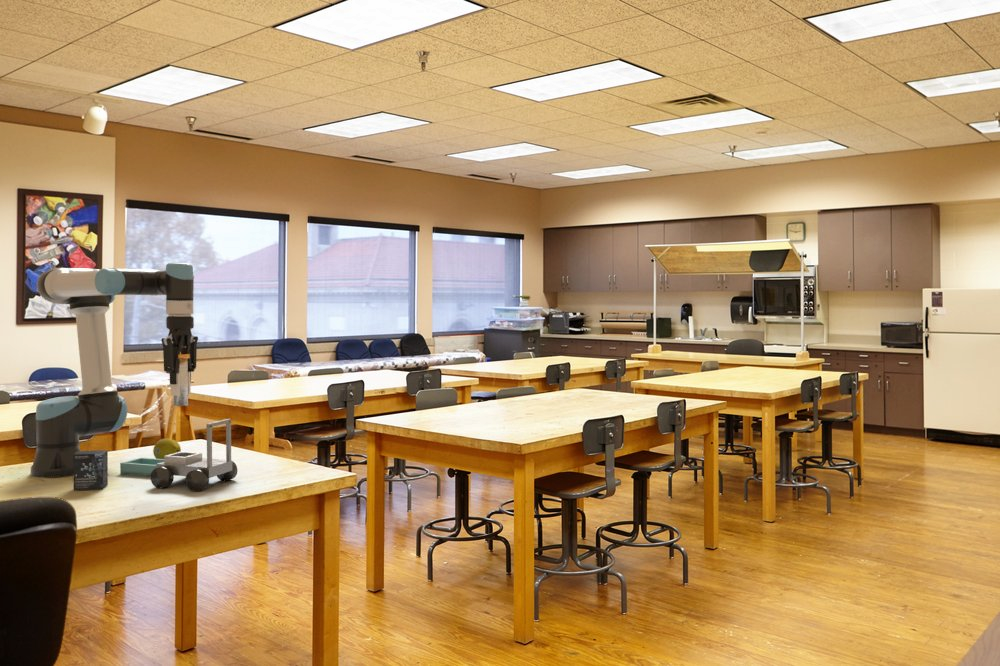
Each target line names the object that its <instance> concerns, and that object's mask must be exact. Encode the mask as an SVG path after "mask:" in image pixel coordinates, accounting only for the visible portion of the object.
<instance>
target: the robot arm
mask: <svg viewBox="0 0 1000 666" xmlns="http://www.w3.org/2000/svg"><path fill="white" fill-rule="evenodd" d="M193 267H194V266H193V265H192V263H187V262H169V263H166V265H165V269H163V270H162V269H136V268H135V269H134V268H133V269H131V268H115V267H108V268H106V267H105V268H100V269H99V268H98V269H97V268H92V267H91V268H89V267H88V268H87V267H85V268H84V267H82V268H81V267H79V268H78V267H75V268H74V267H54V268H50V269H47V270H45V271H43V272H42V273H41V274H40V275H39V277H38V278H37V281H36V289H37V292H38V293H39V295H40V297H42V298H43V299H44V300H45V301H47V302H50V303H52V304H58V305H69V312H71V313H72V314H74V316H75V321H76V322H75V323H76V331H77V332H76V333H77V334H76V335H77V343H78V353H79V364H80V373H81V383H82V384H81V385H82V386H81V387H82V388H81V390H80V392H78V394H77V396H76V395H64V396H58V397H53V398H48V399H45V400H42V401H40V402H39V403H38V404H37V405H36V408H35V410H36V411H35V429H36V431H35V432H36V451H35V454H34V459H33V463H32V465H31V466H30V476H31V477H35V478H43V479H44V478H46V479H48V478H62V477H69V476H74V468H73V467H74V466H73V455H74V454H75V453H76V452H78V451H81V448H80V437H84V436H93V435H99V434H100V435H101V434H108V433H111V432H117V431H118V430H119V429H121V428H122V427H123V426H124V424H125V422H126V420H127V416H128V405H127V401H125V398H124V397H123V396H121V395H119V393H118V389H116V387H114V386H113V385H112V384H113V383H112V374H111V373H112V372H111V371H112V370H111V363H110V353H109V352H110V351H109V341H108V331H107V323H106V322H107V321H106V313H107V312H108V311H109V310H110V304H111V303H113V302H114V301H115V299H116V297H115V296H130V295H131V296H133V295H134V296H154V297H155V296H156V297H157V296H166V298H165V314H166V315H167V316H166V320H165V322H166V329H168V331H169V332H168V335H167V336H166V337H162V338H161V343H162V350H163V351H162V353H163V356H162V357H163V372H165V373H167V374H169V385H170V396H173V395H174V396H180V373H178V366H179V359H178V355H180V353H181V354H190V358H188V395H190V394H191V382H192V373H194V372H195V370H196V368H197V356H198V355H197V353H198V352H197V349H198V348H197V347H198V346H197V345H198V341H199V337H198V336H197V335H196V336H195V335H193V333H192V329H194V327H195V325H194V323H195V322H194V321H195V320H194V319H195V317H193V315H194V291H195V290H194V289H195V288H194V287H195V286H194V284H195V283H194V281H195V280H194V279H195V276H194V268H193Z"/></svg>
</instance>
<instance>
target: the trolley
mask: <svg viewBox="0 0 1000 666" xmlns="http://www.w3.org/2000/svg"><path fill="white" fill-rule="evenodd" d="M222 425H225V444H226V445H225V446H226V447H225V450H226V451H225V452H226V453H225V454H226V455H225V456H226V459H219V458H218V459H216V458H215V459H214V458H213V428H214V427H218V426H222ZM175 476H179V477H185V485H186V487H187V488H188V490H189V491H191V492H194V493H195V492H196V493H197V492H199V491H203V490H205V489H206V488H208V485H209V483H210V479H211V478H214V477H216V478H217V479H218V480H220V481H221V482H229V481H231V480H233V479H235V478H236V477H237V476H238V467H237V464H236V463H235V462H234V461H233V460H232V419H231V418H226V419H225V418H224V419H221V420H216V421H212V422H209V423H206V457H205V458H204V457H203V453H202V452H192V451H181V452H177V453H174V454H170V455H166V456H164V462H161V463H157V464H156V468H155V469H154V470H153V471H152V473H151V477H150V483H151V484H152V485H153V487H154V488H157V489H158V490H159V489H163V488H167V487H169V486H171V485H172V484H173V482H174V479H175Z"/></svg>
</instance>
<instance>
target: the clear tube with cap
mask: <svg viewBox="0 0 1000 666" xmlns="http://www.w3.org/2000/svg"><path fill="white" fill-rule="evenodd" d="M188 358H190V354H181V352H180V355H178V359H179V366H178V373H180V396H174V395H172V396H173V407H187V406H189V394H188Z"/></svg>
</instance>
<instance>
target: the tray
mask: <svg viewBox="0 0 1000 666" xmlns="http://www.w3.org/2000/svg"><path fill="white" fill-rule="evenodd" d="M161 462H164V459H156V458H152V457H138V458H133V459H130V460H125V461H122V462H120V463H119V464H120V465H119V467H120V469H119V471H120V473H119V474H120V475H128V476H137V477H138V476H139V477H151V473H152V471H153V470H154V469H155V468H156V464H157V463H161Z"/></svg>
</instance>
